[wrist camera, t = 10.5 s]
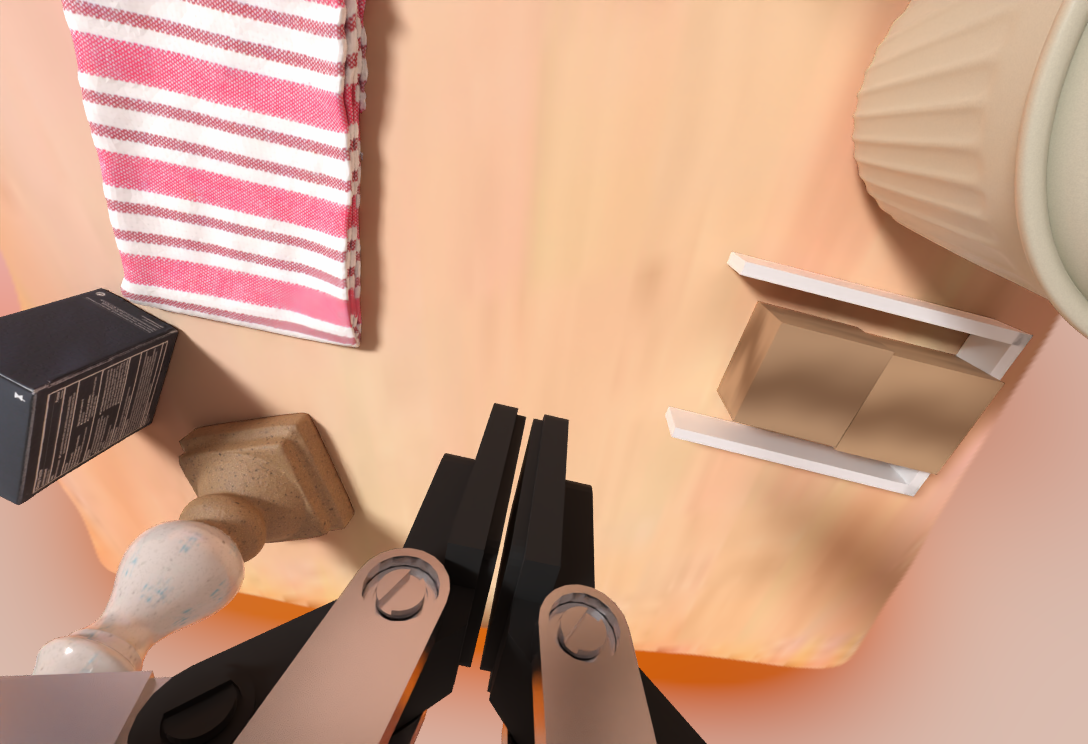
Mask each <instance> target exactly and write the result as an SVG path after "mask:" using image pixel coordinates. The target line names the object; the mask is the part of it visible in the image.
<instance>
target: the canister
mask: <svg viewBox="0 0 1088 744" xmlns="http://www.w3.org/2000/svg"><path fill="white" fill-rule="evenodd" d="M864 76H865V77H864V81H863V84H862V87H861V89H860V91H859V92H858V94H857V99H858V101H857V107H856V111H855V113H854V115H853V119H854V130H853V134H852V140H853V142H854V147H855V151H854V159H855V160H856V162H857V164H858V168H859V176H860V178H861V179H862V180H863V181H864V182H865V184H866V189H867V192H868V193H869V194H870V195H871V196H872V197H873V198H875V199H876V201H877V204H878V205H879V207H880V208H881V209H882V210H883V211H885V212H886V213H888V214H890V215H891V216H892V218H893V219H894V220H896V221H897V222H898V223H900V224H901V225H903V226H905V227H906V228H908V229H910V230H912V231H914V232H915V233H917V234H919V235H921V236H923V237H924V238H926V239H928V240H930V241H932V242H934V243H936V244H937V245H939V246H941V247H943V248H945V249H947V250H949V251H951V252H953V253H955V254H956V255H958V256H960V257H962V258H964V259H966V260H968V261H970V262H972V263H974V264H976V265H978V266H980V267H982V268H984V269H986V270H988V271H991V272H993V273H995V274H997V275H999V276H1001V277H1003V278H1005V279H1007V280H1009V281H1011V282H1013V283H1016V284H1018V285H1020V286H1022V287H1024V288H1026V289H1028V290H1030V291H1032V292H1034V293H1036V294H1038V295H1040V296H1042V297H1044V298H1046V299H1048V300H1049V301H1050V302H1051V304H1052V305H1053V306H1054V308H1055V309H1056V310H1057V311H1058V312H1059V314H1060V315H1061V316H1062V317H1063V318H1064V319H1065V320H1066V321H1067V322H1068V323H1069V324H1070V325H1071V326H1072V327H1073V328H1075V329H1076V330H1077V331H1078V332H1079V333H1081V334H1082V335H1083V336H1085V337H1086V338H1088V0H911V1H910V3H909V4H908V6H907V8H906V10H905V11H904V12H903V14H901V15H900V16H899V17H898V18H897V19H896V20H895V21H894V22H893V23H892V25H891V27H890V29H889V32H888V34H887V35H886V37H885V38H884V40H883V41H882V42H881V43H880V44H879V46H878V47H877V48H876V51H875V56H874V58H873V60H872V62H871V64H870V66H869V67H868V68H867V70H866V71H865V74H864Z"/></svg>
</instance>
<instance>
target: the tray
mask: <svg viewBox="0 0 1088 744" xmlns="http://www.w3.org/2000/svg"><path fill="white" fill-rule="evenodd" d="M727 264H728V265H729V266H731V267H732V268H733V269H734V270H735V271H737V272H738V273H739V274H740V275H743V276H747V277H751V278H755V279H759V280H763V281H767V282H771V283H775V284H779V285H782V286H786V287H790V288H794V289H798V290H802V291H806V292H810V293H814V294H817V295H821V296H825V297H829V298H833V299H837V300H841V301H845V302H849V303H852V304H856V305H860V306H864V307H868V308H872V309H876V310H880V311H884V312H887V313H891V314H895V315H899V316H903V317H907V318H911V319H915V320H919V321H923V322H926V323H930V324H934V325H938V326H942V327H946V328H950V329H954V330H958V331H961V332H965V333H969V334H970V335H969V337H968V338H967V340H966V341H965V343H964V344H963V346H962V347H961V349H960V350H959V352H958V353H957V354H956V356H957V357H959V358H961V359H963V360H964V361H966V362H968V363H970V364H972V365H973V366H975V367H977V368H979V369H980V370H982V371H984V372H986V373H988V374H989V375H991V376H993V377H995V378H996V379H998V380H1000V379H1001V378H1002V377H1003V375H1004V374H1005V373H1006V371H1007V370H1008V369H1009V367H1010V366H1011V365H1012V363H1013V362H1014V361H1015V359H1016V358H1017V357H1018V355H1019V354H1020V353H1021V351H1022V350H1023V348H1024V347H1025V346H1026V344H1027V343H1028V342H1029V340H1030V339H1031V338H1032V336H1033V335H1031V334H1028V333H1026V332H1023V331H1021V330H1019V329H1016V328H1014V327H1012V326H1009V325H1007V324H1005V323H1002V322H1000V321H998V320H995V319H992V318H988V317H984V316H980V315H976V314H973V313H969V312H965V311H961V310H957V309H953V308H949V307H945V306H942V305H938V304H934V303H930V302H926V301H922V300H918V299H914V298H911V297H907V296H903V295H899V294H895V293H891V292H887V291H883V290H880V289H876V288H872V287H868V286H864V285H860V284H856V283H852V282H849V281H845V280H841V279H837V278H833V277H829V276H825V275H821V274H818V273H814V272H810V271H806V270H802V269H798V268H794V267H790V266H787V265H783V264H779V263H775V262H771V261H767V260H763V259H759V258H756V257H752V256H748V255H744V254H740V253H736V252H731V255H730V257H729V259H728V262H727ZM665 416H666V419H667V423H668V426H669V430H670V433H671V437H674V438H678V439H682V440H686V441H691V442H695V443H699V444H703V445H707V446H711V447H715V448H719V449H723V450H727V451H731V452H735V453H739V454H743V455H747V456H751V457H755V458H759V459H764V460H768V461H772V462H776V463H780V464H784V465H788V466H792V467H796V468H800V469H804V470H808V471H812V472H816V473H820V474H824V475H828V476H833V477H837V478H841V479H845V480H849V481H853V482H857V483H861V484H865V485H869V486H873V487H877V488H881V489H885V490H889V491H893V492H897V493H901V494H906V495H910V496H914V495H915V494H916V492H917V491H918V490H919V488H920V487H921V486H922V484H923V483H924V482H925V480H926V479H927V477H928V476H929V475H930V473H927V472H923V471H919V470H915V469H911V468H907V467H903V466H899V465H894V464H890V463H886V462H882V461H878V460H874V459H870V458H866V457H862V456H858V455H853V454H849V453H845V452H841V451H837V450H835V449H834V448H833V447H831V446H827V445H823V444H819V443H815V442H811V441H807V440H803V439H799V438H795V437H791V436H787V435H783V434H779V433H775V432H771V431H767V430H763V429H759V428H755V427H751V426H747V425H743V424H739V423H735V422H731V421H727V420H723V419H719V418H715V417H711V416H707V415H703V414H699V413H694V412H690V411H686V410H682V409H678V408H674V407H670V406H669V407H668V409H667V412H666V414H665Z"/></svg>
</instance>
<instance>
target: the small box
mask: <svg viewBox="0 0 1088 744" xmlns="http://www.w3.org/2000/svg"><path fill="white" fill-rule="evenodd" d="M177 334H178V331H177V330H176V329H175V328H174V327H172V326H171V325H169V324H166V323H164V322H162V321H160V320H159V319H157V318H155V317H153V316H151V315H150V314H148V313H146V312H144V311H143V310H141V309H139V308H137V307H135V306H134V305H132V304H130V303H128V302H127V301H125V300H124V299H122V298H120V297H118V296H116V295H114V294H112V293H110V292H108V291H106V290H104V289H102V288H100V289H97V290H94V291H90V292H87V293H83V294H80V295H76V296H73V297H69V298H66V299H63V300H59V301H55V302H52V303H49V304H45V305H42V306H38V307H35V308H31V309H27V310H24V311H21V312H17V313H14V314H10V315H6V316H3V317H0V496H1V497H3V498H5V499H7V500H9V501H11V502H13V503H15V504H17V505H20V504H22V503H24V502H26V501H27V500H29V499H30V498H32V497H33V496H34V495H35V494H37V493H39V492H40V491H41V490H43V489H44V488H46V487H48V486H49V485H50V484H52V483H54V482H55V481H57V480H58V479H60V478H62V477H63V476H65V475H66V474H67V473H70V472H71V471H73V470H74V469H76V468H78V467H80V466H81V465H83V464H84V463H86V462H88V461H89V460H91V459H92V458H94V457H96V456H97V455H99V454H101V453H102V452H104V451H106V450H107V449H109V448H111V447H112V446H114V445H115V444H117V443H119V442H120V441H122V440H124V439H125V438H127V437H129V436H130V435H132V434H134V433H135V432H137V431H139V430H141V429H142V428H144V427H146V426H148V425H150V424H151V423H152V419H153V416H154V413H155V410H156V406H157V403H158V399H159V396H160V392H161V389H162V386H163V382H164V379H165V376H166V372H167V369H168V365H169V362H170V358H171V355H172V352H173V348H174V345H175V341H176V337H177Z"/></svg>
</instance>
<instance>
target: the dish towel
mask: <svg viewBox="0 0 1088 744" xmlns="http://www.w3.org/2000/svg"><path fill="white" fill-rule="evenodd" d="M365 2H366V0H62V4H63V11H64V14H65V18H66V21H67V23H68V26H69V29H70V32H71V35H72V38H73V42H74V47H75V52H76V58H77V63H78V79H79V83H80V86H81V90H82V95H83V104H84V108H85V112H86V116H87V119H88V122H89V123H90V127H91V134H92V138H93V141H94V145H95V147H96V150H97V152H98V156H99V161H100V166H101V171H102V177H103V189H104V195H105V197H106V200H107V205H108V210H109V217H110V221H111V224H112V227H113V230H114V234H115V239H116V242H117V247H118V250H119V252H120V255H121V259H122V264H123V268H124V279H123V282H122V284H121V292H122V294H123V296H124V297H125V298H127V299H128V300H130V301H131V302H133V303H136V304H140V305H144V306H150V307H155V308H159V309H163V310H167V311H171V312H175V313H181V314H187V315H191V316H197V317H202V318H206V319H212V320H215V321H221V322H227V323H231V324H234V325H240V326H244V327H249V328H253V329H259V330H263V331H268V332H273V333H278V334H282V335H286V336H292V337H296V338H302V339H308V340H313V341H318V342H323V343H330V344H336V345H342V346H351V347H359V345H360V339H361V338H360V335H361V325H362V320H361V310H360V292H361V284H360V275H361V260H360V251H361V245H360V236H359V207H360V191H359V190H360V178H361V163H360V154H361V159H362V160H363V158H362V156H363V153H361V151H360V127H359V113H361V114H362V111H363V110H365V109H366V102H365V99H366V93H365V90H364V86H365V83H366V82H367V77H368V69H367V62H366V58H365V51H366V47H367V36H366V32H365V28H364V25H363V14H364V9H365Z"/></svg>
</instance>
